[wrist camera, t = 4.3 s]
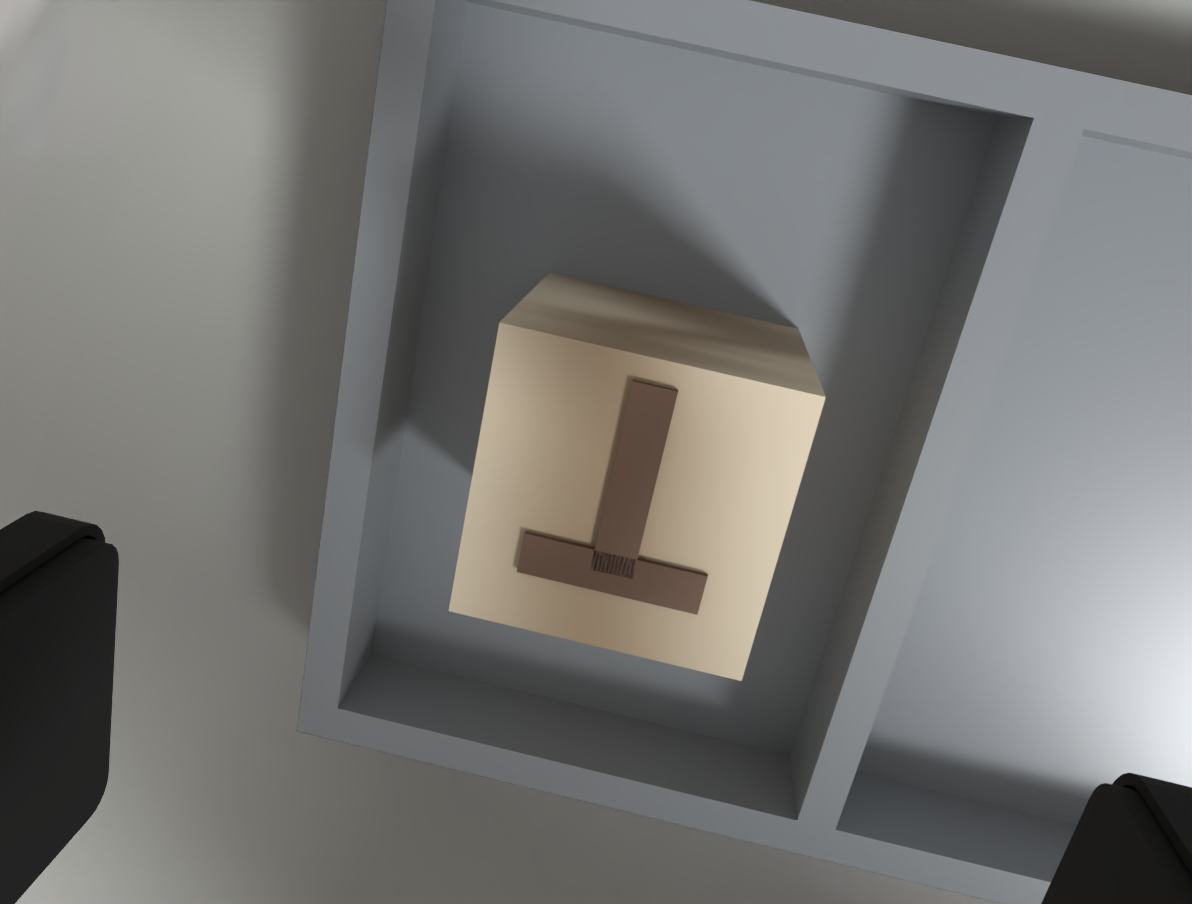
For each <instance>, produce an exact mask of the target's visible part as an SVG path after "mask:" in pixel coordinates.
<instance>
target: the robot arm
mask: <svg viewBox="0 0 1192 904" xmlns="http://www.w3.org/2000/svg"><path fill="white" fill-rule="evenodd" d="M118 567H119V559H118V552H117V549H116V548H115V547H114V546H113V545H112V544H108V543H105V537H104V535H103V532H102V530H101V529H100V528H99V527H98V526H97V525H95V524H90V523H86V522H82V521H78V520H74V519H70V518H65V517H61V516H57V515H53V514H49V513H45V512H38V511H34V512H31V513H28V514H26V515H24V516H23V517H21V518H19V519H17V520H16V521H14V522H12V523H11V524H9V525H7V526H6V527H4V528H2V529H1V530H0V904H15V903H16V901H17V900H18V899H19V898H20V897H21V896H22V895H23V893H24V892H25V891H26V890H27V889H28V888H29V887H30V886H31V884H32V883H33V882H34V881H35V880H36V879H37V878H38V876H39V875H40V874H41V873H42V872H43V871H44V870H45V868H46V867H47V866H48V865H49V864H50V863H51V862H52V860H53V859H54V858H55V857H56V856H57V855H58V854H59V852H60V851H61V850H62V849H63V848H64V847H65V846H66V844H67V843H68V842H69V841H70V840H71V839H72V838H73V836H74V835H75V834H76V833H77V832H78V831H79V830H80V828H81V827H82V826H83V825H84V824H85V823H86V822H87V820H88V819H89V818H90V817H91V815H92V814H93V813H94V811H95V810H96V808H97V806H98V805H99V803H100V801H101V799H102V796H103V794H104V791H105V788H106V785H107V780H108V773H109V752H110V732H111V711H112V691H113V670H114V649H115V629H116V608H117V588H118ZM1041 904H1192V788H1191V787H1188V786H1184V785H1180V784H1176V783H1172V782H1167V781H1163V780H1159V779H1155V778H1151V777H1147V776H1142V775H1138V774H1134V773H1126V774H1122V775H1121V776H1119V777H1118V778H1117V779H1116V780H1115V781H1114V783H1113V784H1108V783H1104V784H1100V785H1099V786H1098V787H1096V788H1095V789H1094V791H1093V793H1092V794H1091V796H1090V798H1089V800H1088V802H1087V805H1086V807H1085V809H1084V811H1083V813H1082V816H1081V818H1080V820H1079V822H1078V824H1077V826H1076V829H1075V831H1074V833H1073V835H1072V837H1071V840H1070V842H1069V844H1068V846H1067V848H1066V850H1065V853H1064V855H1063V857H1062V859H1061V861H1060V864H1059V866H1058V868H1057V870H1056V872H1055V875H1054V877H1053V879H1052V881H1051V883H1050V885H1049V888H1048V890H1047V892H1046V894H1045V896H1044V899H1043V901H1042V903H1041Z"/></svg>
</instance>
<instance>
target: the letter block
mask: <svg viewBox="0 0 1192 904" xmlns="http://www.w3.org/2000/svg"><path fill="white" fill-rule="evenodd" d="M825 398H826V396H825V394H824V391H823V389H822V386H821V384H820V381H819V379H818V376H817V374H816V371H815V369H814V366H813V364H812V361H811V359H810V356H809V354H808V351H807V349H806V346H805V344H804V341H803V339H802V336H801V334H800V331H799V329H798V328H794V327H789V326H785V325H781V324H776V323H772V322H767V321H763V320H758V319H754V318H750V317H745V316H741V315H736V314H732V313H727V312H723V311H719V310H714V309H710V308H705V307H701V306H697V305H692V304H688V303H683V302H679V301H674V300H670V299H666V298H661V297H657V296H652V295H648V294H644V293H639V292H635V291H630V290H626V289H621V288H617V287H613V286H608V285H604V284H599V283H595V282H590V281H586V280H582V279H577V278H573V277H568V276H564V275H560V274H555V273H551V272H550V273H549V274H548V275H547V276H546V277H545V278H544V279H543V280H542V281H541V282H540V283H539V284H538V285H537V286H535V287H534V288H533V289H532V290H531V291H530V292H529V293H528V294H527V295H526V296H525V297H524V298H523V299H522V300H521V301H520V302H519V303H518V304H517V305H516V306H515V307H514V308H513V309H512V310H511V311H510V312H509V313H508V314H507V315H506V316H505V317H504V318H503V319H502V320H501V321H500V322H499V327H498V333H497V339H496V344H495V350H494V356H493V361H492V367H491V373H490V378H489V384H488V390H487V395H486V401H485V407H484V413H483V418H482V424H481V430H480V435H479V441H478V447H477V452H476V458H475V464H474V469H473V475H472V481H471V486H470V492H469V498H468V504H467V509H466V515H465V521H464V526H463V532H462V538H461V543H460V549H459V555H458V560H457V566H456V572H455V577H454V583H453V589H452V594H451V600H450V606H449V611H451V612H455V613H459V614H463V615H467V616H472V617H476V618H480V619H484V620H488V621H493V622H497V623H501V624H505V625H509V626H513V627H518V628H522V629H526V630H530V631H534V632H538V633H543V634H547V635H551V636H555V637H559V638H564V639H568V640H572V641H576V642H580V643H584V644H589V645H593V646H597V647H601V648H605V649H609V650H614V651H618V652H622V653H626V654H630V655H635V656H639V657H643V658H647V659H651V660H655V661H660V662H664V663H668V664H672V665H676V666H680V667H685V668H689V669H693V670H697V671H701V672H706V673H710V674H714V675H718V676H722V677H726V678H731V679H735V680H739V681H742V678H743V675H744V671H745V668H746V665H747V661H748V658H749V655H750V651H751V648H752V644H753V641H754V638H755V634H756V631H757V628H758V624H759V621H760V617H761V614H762V611H763V607H764V604H765V601H766V597H767V594H768V590H769V587H770V584H771V580H772V577H773V574H774V570H775V567H776V563H777V560H778V557H779V553H780V550H781V547H782V543H783V540H784V537H785V533H786V530H787V526H788V523H789V520H790V516H791V513H792V510H793V506H794V503H795V499H796V496H797V493H798V489H799V486H800V483H801V479H802V476H803V472H804V469H805V466H806V462H807V459H808V456H809V452H810V449H811V445H812V442H813V439H814V435H815V432H816V429H817V425H818V422H819V418H820V415H821V412H822V408H823V405H824V402H825Z"/></svg>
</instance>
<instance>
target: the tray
mask: <svg viewBox="0 0 1192 904" xmlns="http://www.w3.org/2000/svg"><path fill="white" fill-rule="evenodd" d="M550 272H551V273H555V274H560V275H564V276H568V277H573V278H577V279H582V280H586V281H590V282H595V283H599V284H604V285H608V286H613V287H617V288H621V289H626V290H630V291H635V292H639V293H644V294H648V295H652V296H657V297H661V298H666V299H670V300H674V301H679V302H683V303H688V304H692V305H697V306H701V307H705V308H710V309H714V310H719V311H723V312H727V313H732V314H736V315H741V316H745V317H750V318H754V319H758V320H763V321H767V322H772V323H776V324H781V325H785V326H789V327H794V328H798V329H799V331H800V334H801V336H802V339H803V341H804V344H805V346H806V349H807V351H808V354H809V356H810V359H811V361H812V364H813V366H814V369H815V371H816V374H817V376H818V379H819V381H820V384H821V386H822V389H823V391H824V394H825V396H826V398H825V402H824V405H823V408H822V412H821V415H820V418H819V422H818V425H817V429H816V432H815V435H814V439H813V442H812V445H811V449H810V452H809V456H808V459H807V462H806V466H805V469H804V472H803V476H802V479H801V483H800V486H799V489H798V493H797V496H796V499H795V503H794V506H793V510H792V513H791V516H790V520H789V523H788V526H787V530H786V533H785V537H784V540H783V543H782V547H781V550H780V553H779V557H778V560H777V563H776V567H775V570H774V574H773V577H772V580H771V584H770V587H769V590H768V594H767V597H766V601H765V604H764V607H763V611H762V614H761V617H760V621H759V624H758V628H757V631H756V634H755V638H754V641H753V644H752V648H751V651H750V655H749V658H748V661H747V665H746V668H745V671H744V675H743V678H742V681H739V680H735V679H731V678H726V677H722V676H718V675H714V674H710V673H706V672H701V671H697V670H693V669H689V668H685V667H680V666H676V665H672V664H668V663H664V662H660V661H655V660H651V659H647V658H643V657H639V656H635V655H630V654H626V653H622V652H618V651H614V650H609V649H605V648H601V647H597V646H593V645H589V644H584V643H580V642H576V641H572V640H568V639H564V638H559V637H555V636H551V635H547V634H543V633H538V632H534V631H530V630H526V629H522V628H518V627H513V626H509V625H505V624H501V623H497V622H493V621H488V620H484V619H480V618H476V617H472V616H467V615H463V614H459V613H455V612H451V611H449V606H450V600H451V594H452V589H453V583H454V577H455V572H456V566H457V560H458V555H459V549H460V543H461V538H462V532H463V526H464V521H465V515H466V509H467V504H468V498H469V492H470V486H471V481H472V475H473V469H474V464H475V458H476V452H477V447H478V441H479V435H480V430H481V424H482V418H483V413H484V407H485V401H486V395H487V390H488V384H489V378H490V373H491V367H492V361H493V356H494V350H495V344H496V339H497V333H498V327H499V322H500V321H501V320H502V319H503V318H504V317H505V316H506V315H507V314H508V313H509V312H510V311H511V310H512V309H513V308H514V307H515V306H516V305H517V304H518V303H519V302H520V301H521V300H522V299H523V298H524V297H525V296H526V295H527V294H528V293H529V292H530V291H531V290H532V289H533V288H534V287H535V286H537V285H538V284H539V283H540V282H541V281H542V280H543V279H544V278H545V277H546V276H547V275H548V274H549V273H550ZM297 731H299V732H303V733H307V734H311V735H315V736H319V737H323V738H327V739H331V740H335V741H339V742H344V743H348V744H352V745H356V746H360V747H364V748H368V749H372V750H376V751H380V752H384V753H388V754H393V755H397V756H401V757H405V758H409V759H413V760H417V761H421V762H425V763H429V764H433V765H437V766H441V767H446V768H450V769H454V770H458V771H462V772H466V773H470V774H474V775H478V776H482V777H486V778H490V779H495V780H499V781H503V782H507V783H511V784H515V785H519V786H523V787H527V788H531V789H535V790H539V791H543V792H548V793H552V794H556V795H560V796H564V797H568V798H572V799H576V800H580V801H584V802H588V803H592V804H597V805H601V806H605V807H609V808H613V809H617V810H621V811H625V812H629V813H633V814H637V815H641V816H645V817H650V818H654V819H658V820H662V821H666V822H670V823H674V824H678V825H682V826H686V827H690V828H694V829H699V830H703V831H707V832H711V833H715V834H719V835H723V836H727V837H731V838H735V839H739V840H743V841H747V842H752V843H756V844H760V845H764V846H768V847H772V848H776V849H780V850H784V851H788V852H792V853H796V854H801V855H805V856H809V857H813V858H817V859H821V860H825V861H829V862H833V863H837V864H841V865H845V866H849V867H854V868H858V869H862V870H866V871H870V872H874V873H878V874H882V875H886V876H890V877H894V878H898V879H903V880H907V881H911V882H915V883H919V884H923V885H927V886H931V887H935V888H939V889H943V890H947V891H951V892H956V893H960V894H964V895H968V896H972V897H976V898H980V899H984V900H988V901H992V902H996V903H1000V904H1041V903H1042V901H1043V899H1044V896H1045V894H1046V892H1047V890H1048V888H1049V885H1050V883H1051V881H1052V879H1053V877H1054V875H1055V872H1056V870H1057V868H1058V866H1059V864H1060V861H1061V859H1062V857H1063V855H1064V853H1065V850H1066V848H1067V846H1068V844H1069V842H1070V840H1071V837H1072V835H1073V833H1074V831H1075V829H1076V826H1077V824H1078V822H1079V820H1080V818H1081V816H1082V813H1083V811H1084V809H1085V807H1086V805H1087V802H1088V800H1089V798H1090V796H1091V794H1092V793H1093V791H1094V789H1095V788H1096V787H1098V786H1099V785H1100V784H1104V783H1108V784H1113V783H1114V781H1115V780H1116V779H1117V778H1118V777H1119V776H1121V775H1122V774H1126V773H1134V774H1138V775H1142V776H1147V777H1151V778H1155V779H1159V780H1163V781H1167V782H1172V783H1176V784H1180V785H1184V786H1188V787H1191V788H1192V95H1188V94H1184V93H1179V92H1174V91H1170V90H1165V89H1160V88H1156V87H1151V86H1146V85H1142V84H1137V83H1132V82H1128V81H1123V80H1118V79H1114V78H1109V77H1104V76H1100V75H1095V74H1091V73H1086V72H1081V71H1077V70H1072V69H1067V68H1063V67H1058V66H1053V65H1049V64H1044V63H1039V62H1035V61H1030V60H1025V59H1021V58H1016V57H1011V56H1007V55H1002V54H997V53H993V52H988V51H983V50H979V49H974V48H970V47H965V46H960V45H956V44H951V43H946V42H942V41H937V40H932V39H928V38H923V37H918V36H914V35H909V34H904V33H900V32H895V31H890V30H886V29H881V28H876V27H872V26H867V25H862V24H858V23H853V22H848V21H844V20H839V19H835V18H830V17H825V16H821V15H816V14H811V13H807V12H802V11H797V10H793V9H788V8H783V7H779V6H774V5H769V4H765V3H760V2H755V1H751V0H387V3H386V12H385V20H384V28H383V36H382V44H381V52H380V60H379V68H378V76H377V85H376V93H375V101H374V109H373V117H372V125H371V133H370V141H369V150H368V158H367V166H366V174H365V182H364V190H363V198H362V206H361V214H360V223H359V231H358V239H357V247H356V255H355V263H354V271H353V279H352V287H351V296H350V304H349V312H348V320H347V328H346V336H345V344H344V352H343V360H342V369H341V377H340V385H339V393H338V401H337V409H336V417H335V425H334V433H333V442H332V450H331V458H330V466H329V474H328V482H327V490H326V498H325V506H324V515H323V523H322V531H321V539H320V547H319V555H318V563H317V571H316V580H315V588H314V596H313V604H312V612H311V620H310V628H309V636H308V644H307V653H306V661H305V669H304V677H303V685H302V693H301V701H300V709H299V717H298V726H297Z"/></svg>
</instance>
